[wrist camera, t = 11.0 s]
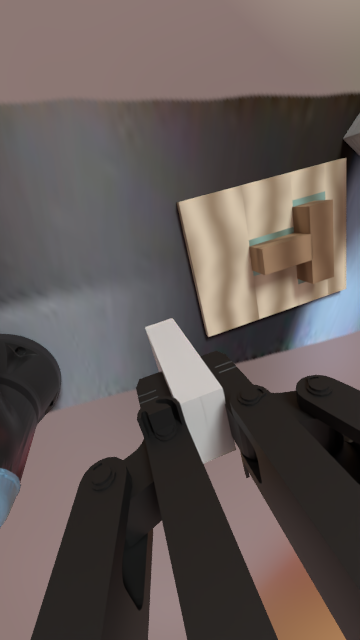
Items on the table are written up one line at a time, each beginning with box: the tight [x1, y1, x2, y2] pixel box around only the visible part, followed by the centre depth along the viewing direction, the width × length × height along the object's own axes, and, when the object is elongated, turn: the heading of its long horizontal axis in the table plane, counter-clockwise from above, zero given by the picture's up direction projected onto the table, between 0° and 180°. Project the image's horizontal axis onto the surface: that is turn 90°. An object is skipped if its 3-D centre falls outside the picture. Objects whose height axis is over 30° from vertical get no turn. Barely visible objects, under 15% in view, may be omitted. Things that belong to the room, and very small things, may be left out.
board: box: [177, 158, 346, 337], centre depth 47 cm, size 28×22×1 cm
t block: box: [249, 199, 334, 284], centre depth 45 cm, size 12×12×4 cm
